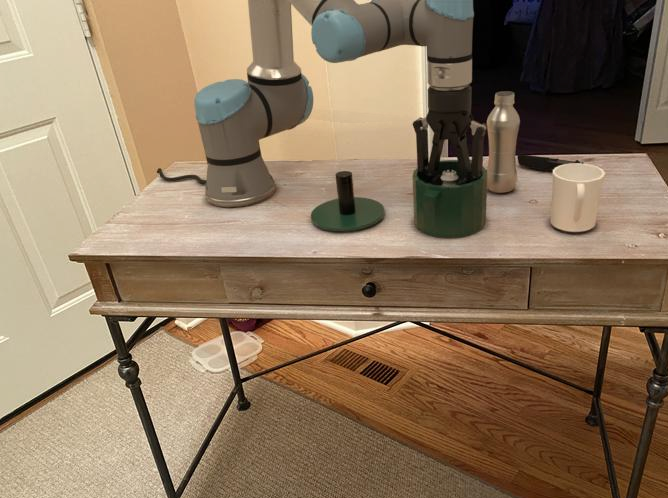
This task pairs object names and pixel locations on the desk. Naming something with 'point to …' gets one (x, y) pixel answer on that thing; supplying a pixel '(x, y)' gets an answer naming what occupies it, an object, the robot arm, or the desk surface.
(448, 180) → the rook chess piece
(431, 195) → the pot
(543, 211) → the desk surface
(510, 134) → the silver metal bottle
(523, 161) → the electric trimmer
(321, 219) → the lid
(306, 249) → the desk surface
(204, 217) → the desk surface
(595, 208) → the mug
